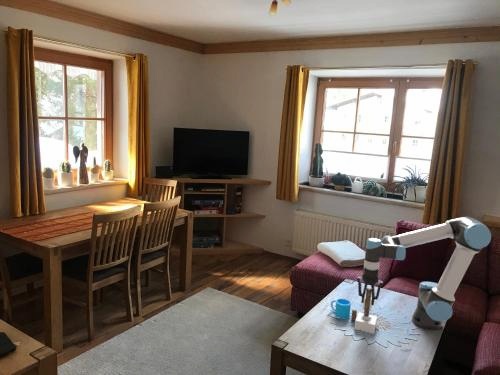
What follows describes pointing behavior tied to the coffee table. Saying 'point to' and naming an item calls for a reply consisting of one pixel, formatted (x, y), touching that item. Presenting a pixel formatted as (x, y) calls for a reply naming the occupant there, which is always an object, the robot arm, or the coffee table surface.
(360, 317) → the hole block
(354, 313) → the short dowel
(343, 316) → the mug
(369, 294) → the long dowel
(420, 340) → the coffee table surface
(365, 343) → the coffee table surface
